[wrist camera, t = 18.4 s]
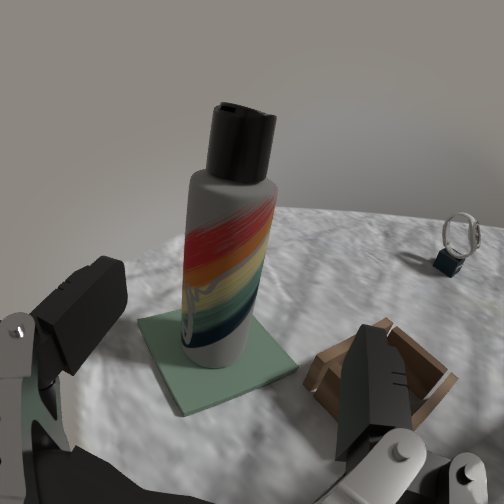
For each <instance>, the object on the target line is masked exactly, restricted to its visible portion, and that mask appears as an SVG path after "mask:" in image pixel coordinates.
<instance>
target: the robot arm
mask: <svg viewBox="0 0 504 504" xmlns="http://www.w3.org/2000/svg"><path fill="white" fill-rule="evenodd" d="M127 300H128V294H127V286H126V277H125V267H124V263H123V262H122V261H120V260H117V259H113V258H110V257H107V256H101V257H99V258H98V259H97V260H96V261H95V262H94V263H92V264H91V265H90V266H85V267H83V268H81V269H79V270H77V271H75V272H74V273H73V274H72V275H70V276H69V277H68V278H67V279H66V280H65V282H63V283H62V284H60V285H59V286H58V289H55V290H54V291H53V292H52V293H51V294H50V295H49V296H48V297H46V298H45V299H44V300H43V301H42V302H41V303H40V304H39V305H38V306H37V307H36V308H35V309H34V310H33V311H32V312H31V313H30V314H27V313H21V312H19V313H14V314H11V315H9V316H7V317H6V318H4V319H3V320H2V321H1V320H0V504H215V503H211V502H208V501H204V500H201V499H198V498H195V497H191V496H184V495H176V494H168V493H161V492H155V491H149V490H145V489H143V488H141V487H139V486H138V485H137V484H135V483H134V482H133V481H131V480H130V479H129V478H127V477H126V476H125V475H123V474H122V473H121V472H120V471H118V470H117V469H116V468H115V467H113V466H112V465H111V464H110V463H108V462H106V461H104V460H102V459H100V458H98V457H97V456H95V455H93V454H91V453H89V452H87V451H85V450H84V449H82V448H80V447H78V446H77V445H76V446H75V447H74V449H73V451H72V452H71V450H70V446H69V442H68V439H67V437H66V434H65V432H64V428H63V423H62V411H61V396H60V379H59V376H58V375H59V374H60V372H61V371H62V370H63V371H65V372H67V373H69V374H70V375H72V376H74V375H75V374H76V372H77V371H78V370H79V368H80V367H81V366H82V364H83V363H84V362H85V360H86V359H87V358H88V356H89V355H90V354H91V352H92V351H93V350H94V349H95V347H96V346H97V345H98V343H99V342H100V341H101V340H102V338H103V337H104V336H105V335H106V333H107V332H108V331H109V330H110V328H111V327H112V326H113V325H114V323H115V322H116V321H117V320H118V318H119V317H120V316H121V315H122V313H123V312H124V310H125V308H126V305H127ZM405 374H406V372H405V365H404V360H403V358H402V357H401V355H400V353H399V352H398V350H397V348H396V347H392V346H388V340H387V334H386V330H385V329H384V328H380V327H375V326H370V325H365V324H362V325H361V326H360V328H359V330H358V332H357V334H356V336H355V338H354V340H353V342H352V344H351V346H350V348H349V350H348V352H347V354H346V356H345V358H344V361H343V364H342V369H341V382H340V404H339V421H338V434H337V447H336V457H335V461H344V462H346V471H345V472H344V473H343V474H342V475H341V476H340V477H339V478H338V479H337V480H336V481H335V482H334V483H333V484H331V485H330V486H329V487H328V488H327V489H326V490H325V491H324V492H323V493H322V494H321V495H319V496H318V497H317V498H316V499H315V500H314V501H313V502H311V503H310V504H488V494H487V479H486V470H485V466H484V464H483V462H482V461H481V459H480V458H479V457H478V456H476V455H475V454H473V453H469V452H465V453H461V454H459V455H457V456H456V457H455V458H453V459H452V460H451V459H448V458H445V457H442V456H440V455H437V454H434V453H432V452H429V451H427V450H426V446H425V444H424V442H423V440H422V439H421V438H420V436H419V435H417V434H416V433H415V432H413V428H412V418H411V409H410V401H409V393H408V388H407V378H406V376H405Z"/></svg>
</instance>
